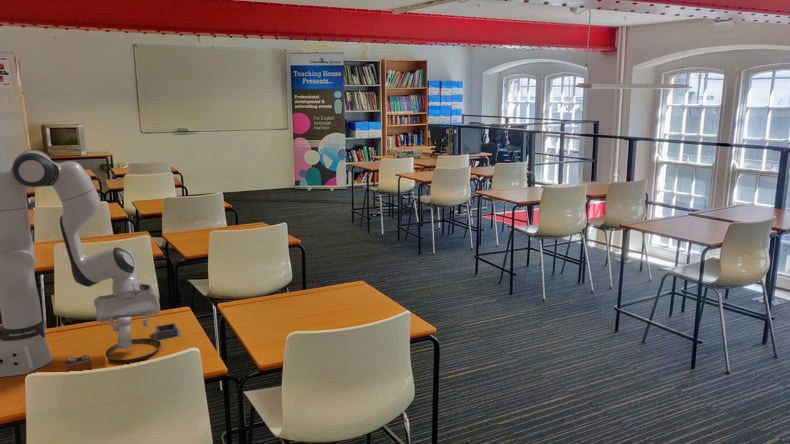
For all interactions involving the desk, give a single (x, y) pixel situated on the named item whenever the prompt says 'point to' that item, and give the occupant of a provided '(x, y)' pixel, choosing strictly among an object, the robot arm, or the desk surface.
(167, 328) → the dark grey square tray
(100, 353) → the desk surface
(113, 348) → the dark grey ring
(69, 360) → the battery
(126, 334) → the cylinder
